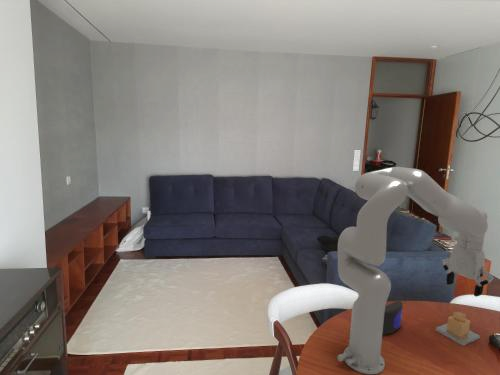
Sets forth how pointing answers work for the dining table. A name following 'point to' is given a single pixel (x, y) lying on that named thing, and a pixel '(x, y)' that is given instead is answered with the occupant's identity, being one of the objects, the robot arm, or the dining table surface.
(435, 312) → the dining table surface
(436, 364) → the dining table surface
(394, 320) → the grey blue curved piece
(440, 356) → the dining table surface
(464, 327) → the cube with dome knob
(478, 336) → the plate
